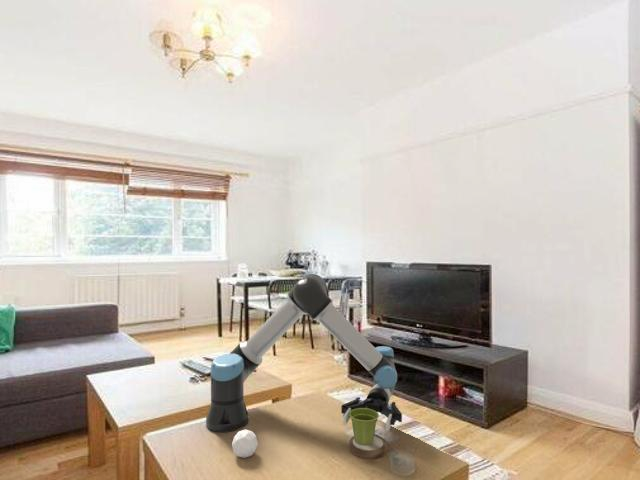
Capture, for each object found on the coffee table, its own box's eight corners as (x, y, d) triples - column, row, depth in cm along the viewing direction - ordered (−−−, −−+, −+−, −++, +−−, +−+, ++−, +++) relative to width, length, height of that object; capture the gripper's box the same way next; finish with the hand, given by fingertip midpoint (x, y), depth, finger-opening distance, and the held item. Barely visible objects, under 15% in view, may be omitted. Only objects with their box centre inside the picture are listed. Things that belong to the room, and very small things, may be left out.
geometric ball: (249, 460, 128) (263, 436, 131) (245, 465, 121) (260, 439, 123) (229, 447, 130) (243, 423, 132) (224, 450, 122) (240, 425, 125)
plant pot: (360, 430, 138) (360, 405, 138) (384, 439, 132) (384, 413, 132) (343, 441, 131) (343, 414, 131) (368, 451, 125) (368, 423, 124)
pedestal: (374, 463, 122) (374, 456, 122) (341, 450, 129) (341, 443, 129) (393, 446, 131) (393, 440, 131) (362, 435, 139) (362, 429, 139)
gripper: (413, 413, 143) (406, 442, 123) (345, 403, 151) (327, 429, 131) (413, 391, 143) (406, 417, 123) (345, 383, 151) (327, 406, 131)
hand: (365, 423), depth 127 cm, fingers open, 13 cm apart
